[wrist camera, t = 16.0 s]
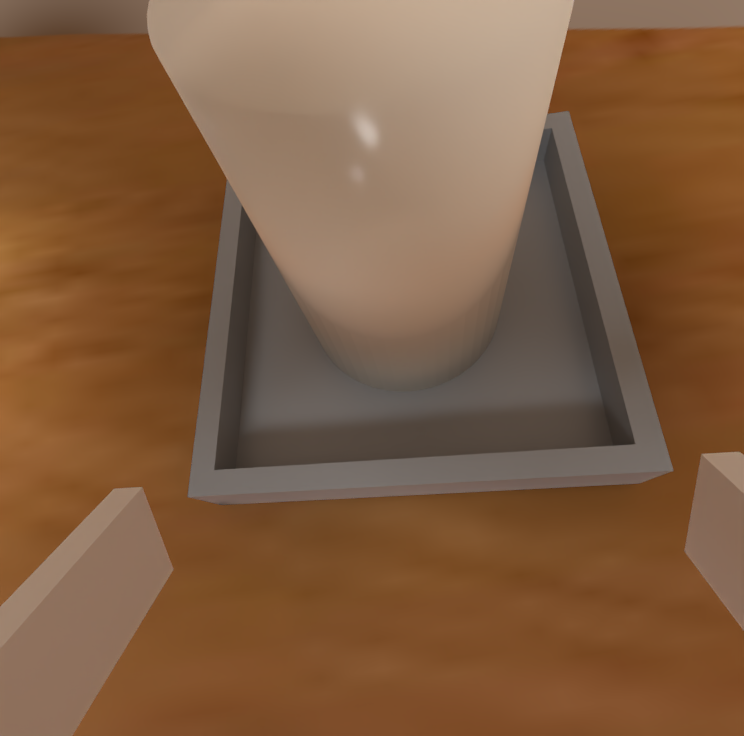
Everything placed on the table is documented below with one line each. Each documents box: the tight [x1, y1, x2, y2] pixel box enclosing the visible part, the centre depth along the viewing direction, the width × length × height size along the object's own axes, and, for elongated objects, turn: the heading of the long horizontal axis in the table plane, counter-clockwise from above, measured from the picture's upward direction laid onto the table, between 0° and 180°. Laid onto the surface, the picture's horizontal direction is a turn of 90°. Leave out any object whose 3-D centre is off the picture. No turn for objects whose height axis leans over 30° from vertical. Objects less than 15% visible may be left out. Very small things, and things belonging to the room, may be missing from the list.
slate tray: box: [188, 111, 673, 505], centre depth 22 cm, size 18×18×3 cm
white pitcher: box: [147, 0, 574, 392], centre depth 16 cm, size 9×12×14 cm
